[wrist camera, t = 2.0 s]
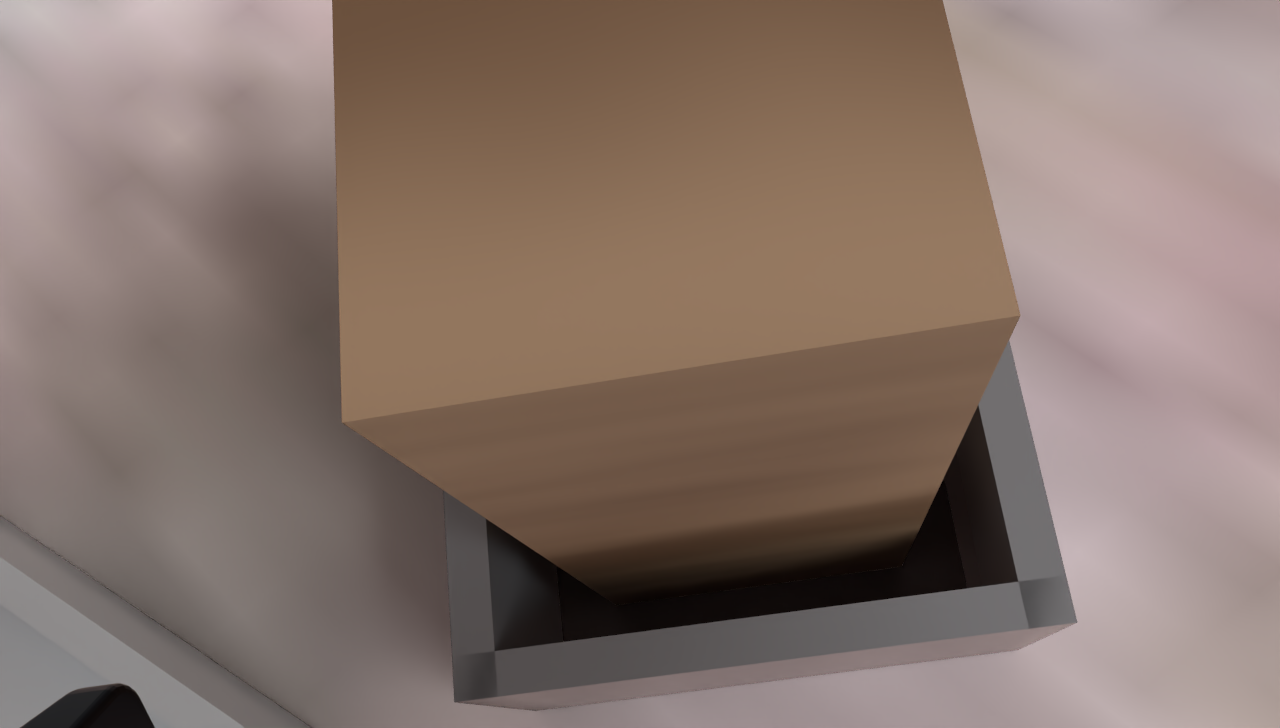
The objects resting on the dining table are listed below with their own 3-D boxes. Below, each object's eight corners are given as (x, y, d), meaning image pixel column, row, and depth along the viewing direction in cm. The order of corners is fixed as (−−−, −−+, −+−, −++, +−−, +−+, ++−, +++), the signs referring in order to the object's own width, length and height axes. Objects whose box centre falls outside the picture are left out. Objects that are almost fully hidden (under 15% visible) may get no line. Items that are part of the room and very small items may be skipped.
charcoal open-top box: (1018, 650, 18) (1077, 622, 14) (535, 710, 19) (453, 702, 15) (920, 208, 21) (944, 74, 17) (501, 279, 22) (426, 169, 18)
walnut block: (901, 566, 19) (1020, 315, 8) (616, 605, 20) (341, 422, 8) (850, 300, 21) (886, -224, 9) (588, 342, 21) (329, -107, 10)
